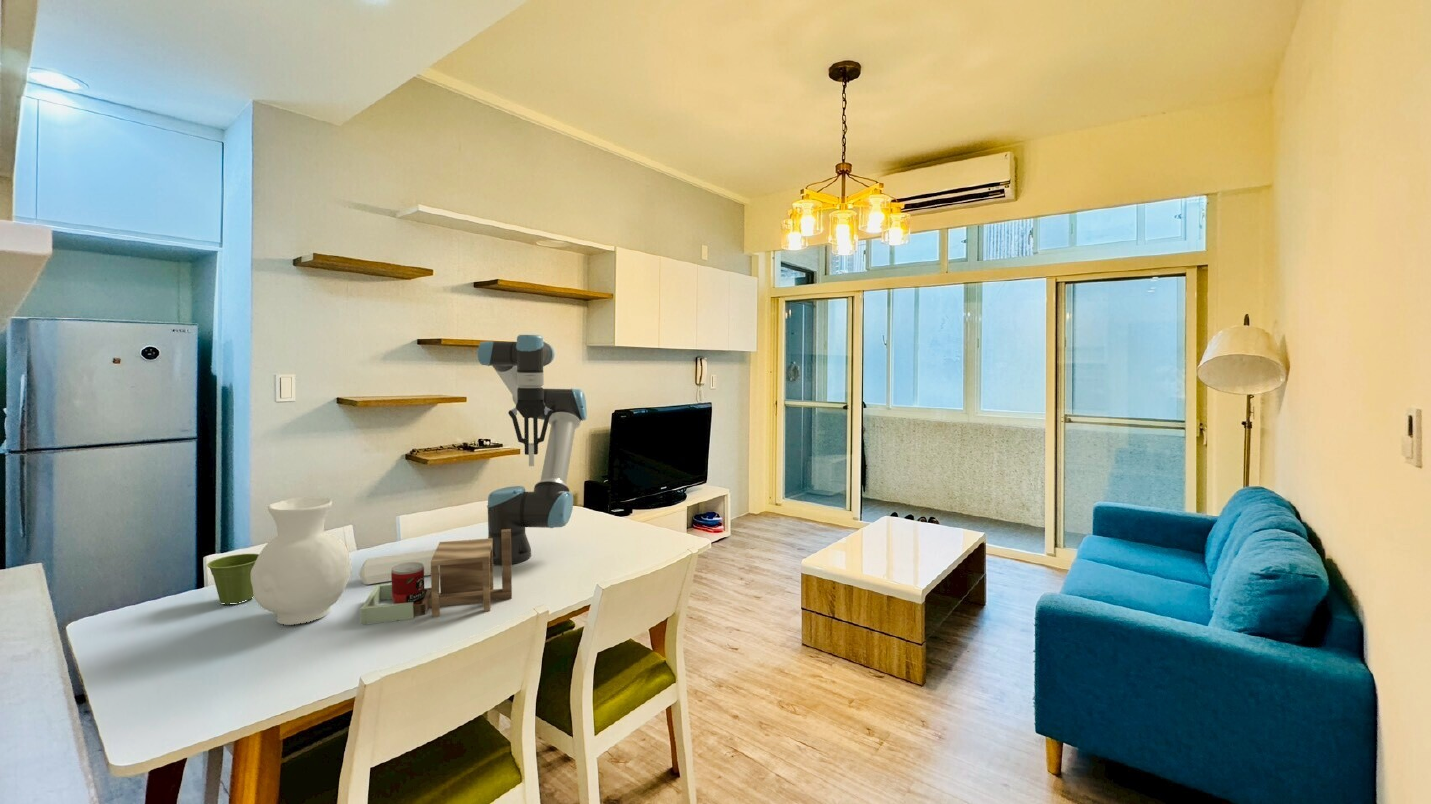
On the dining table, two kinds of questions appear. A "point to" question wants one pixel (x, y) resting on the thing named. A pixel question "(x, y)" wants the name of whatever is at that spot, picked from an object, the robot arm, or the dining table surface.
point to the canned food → (408, 583)
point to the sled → (476, 595)
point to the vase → (300, 563)
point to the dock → (384, 607)
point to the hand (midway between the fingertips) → (531, 465)
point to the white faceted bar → (382, 566)
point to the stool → (462, 569)
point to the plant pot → (233, 577)
